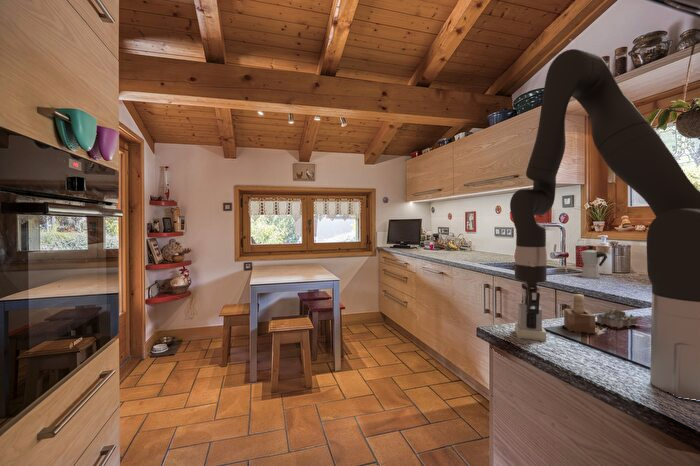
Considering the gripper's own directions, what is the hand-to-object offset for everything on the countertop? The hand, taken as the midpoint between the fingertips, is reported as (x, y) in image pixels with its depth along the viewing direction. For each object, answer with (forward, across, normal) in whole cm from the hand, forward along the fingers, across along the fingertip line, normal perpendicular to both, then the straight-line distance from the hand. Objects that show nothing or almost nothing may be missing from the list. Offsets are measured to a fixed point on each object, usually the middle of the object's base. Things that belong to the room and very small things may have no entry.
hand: (529, 324), depth 87 cm
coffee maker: (+3, -118, +47) cm, 127 cm away
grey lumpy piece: (+3, -21, +26) cm, 34 cm away
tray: (+3, 0, 0) cm, 3 cm away
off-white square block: (+1, 0, 0) cm, 1 cm away
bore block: (+3, -11, +14) cm, 18 cm away
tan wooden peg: (+3, -11, +14) cm, 18 cm away
